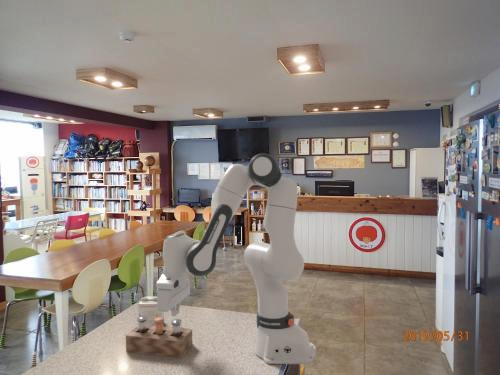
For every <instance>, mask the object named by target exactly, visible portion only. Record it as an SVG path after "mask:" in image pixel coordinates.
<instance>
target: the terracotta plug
mask: <svg viewBox="0 0 500 375" xmlns="http://www.w3.org/2000/svg"><path fill="white" fill-rule="evenodd" d="M163 322H164V323H165V317H164V318H162V317H159V318H155V319H154V323H155V330H156V335H162V334H163V326H164V324H163Z"/></svg>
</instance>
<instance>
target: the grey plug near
mask: <svg viewBox="0 0 500 375" xmlns="http://www.w3.org/2000/svg"><path fill="white" fill-rule="evenodd" d="M170 323H171V325H172V327H173V336H175V337H180V336H181V331H180V328H181V324H182V319H180V318H175V319H172V320H171V322H170Z"/></svg>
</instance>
